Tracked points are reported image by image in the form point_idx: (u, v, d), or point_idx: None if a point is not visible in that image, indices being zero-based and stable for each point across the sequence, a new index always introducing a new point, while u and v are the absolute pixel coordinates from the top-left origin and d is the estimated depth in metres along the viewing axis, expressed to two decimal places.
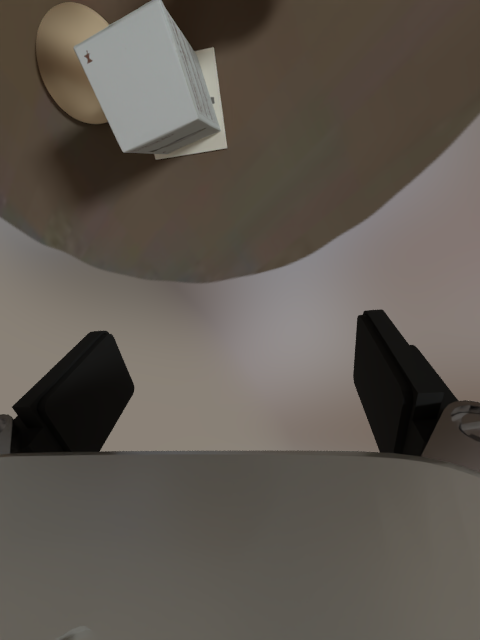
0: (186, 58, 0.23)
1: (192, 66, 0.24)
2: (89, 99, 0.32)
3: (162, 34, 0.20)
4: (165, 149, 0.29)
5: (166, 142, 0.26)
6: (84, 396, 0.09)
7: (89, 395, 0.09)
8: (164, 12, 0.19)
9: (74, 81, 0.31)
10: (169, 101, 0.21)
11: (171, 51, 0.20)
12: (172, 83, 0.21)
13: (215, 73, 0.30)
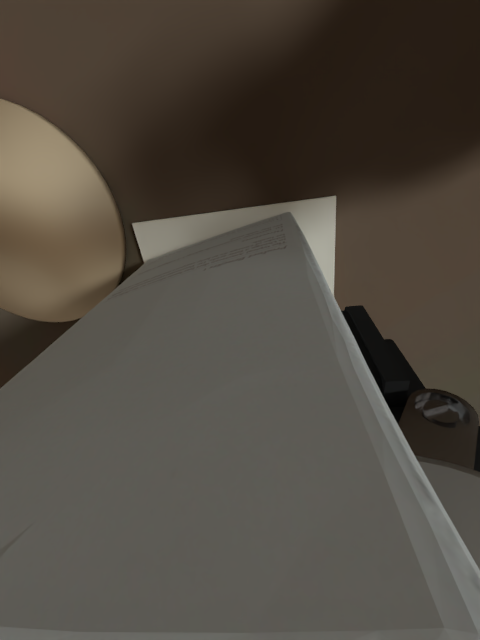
0: None
1: None
2: (37, 283, 0.14)
3: None
4: None
5: None
6: None
7: None
8: None
9: (0, 252, 0.14)
10: None
11: None
12: None
13: (331, 247, 0.13)
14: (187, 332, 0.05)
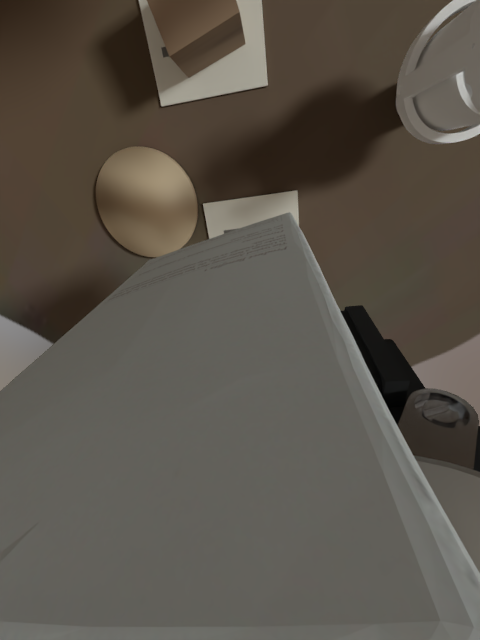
0: None
1: None
2: (151, 234, 0.29)
3: None
4: None
5: None
6: None
7: None
8: None
9: (136, 218, 0.28)
10: None
11: None
12: None
13: (296, 214, 0.27)
14: (189, 333, 0.05)
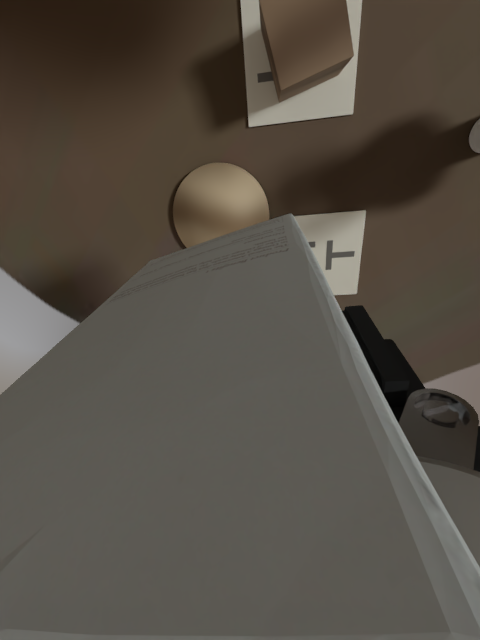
0: None
1: None
2: None
3: None
4: None
5: None
6: None
7: None
8: None
9: (208, 228, 0.30)
10: None
11: None
12: None
13: (362, 232, 0.29)
14: (191, 336, 0.05)
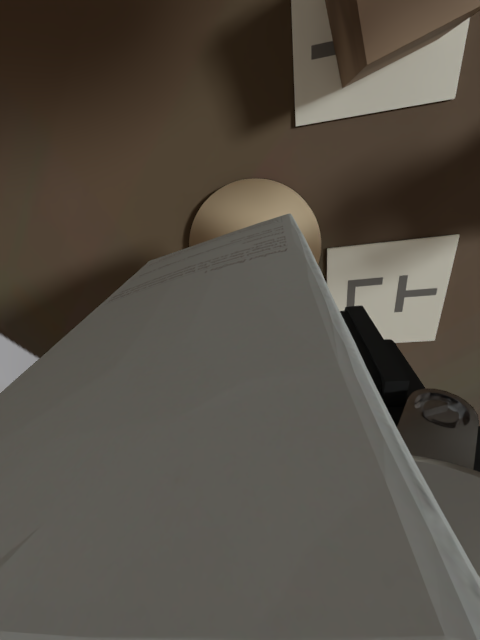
0: None
1: None
2: None
3: None
4: None
5: None
6: None
7: None
8: None
9: None
10: None
11: None
12: None
13: (450, 263, 0.21)
14: (189, 336, 0.05)
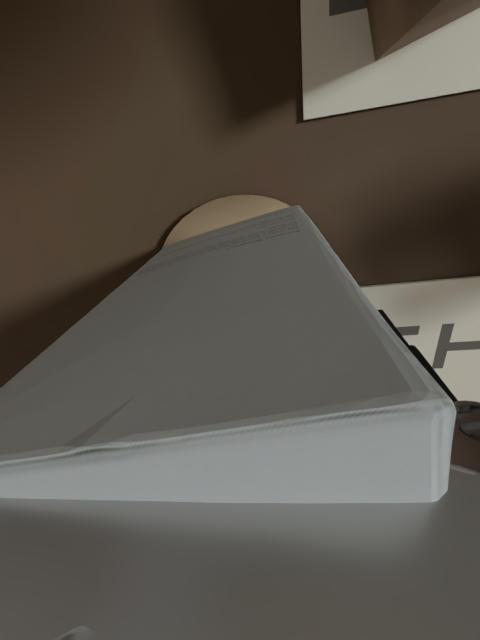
0: None
1: None
2: None
3: None
4: None
5: None
6: None
7: None
8: (446, 448, 0.03)
9: None
10: None
11: None
12: None
13: None
14: (225, 289, 0.06)
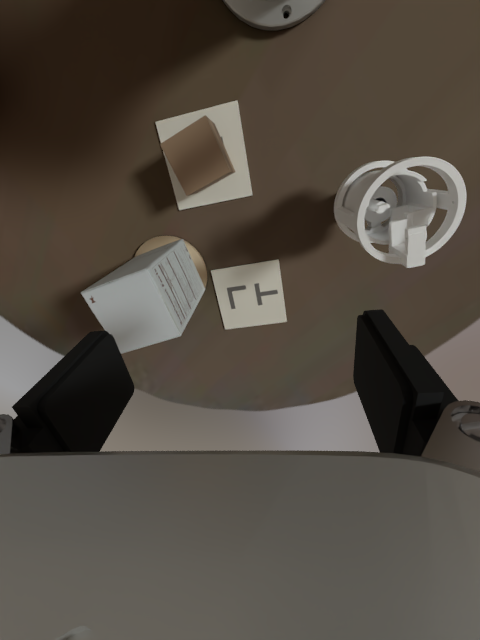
0: (171, 282, 0.28)
1: (177, 276, 0.30)
2: None
3: (150, 289, 0.25)
4: None
5: None
6: (84, 396, 0.09)
7: (89, 395, 0.09)
8: (151, 276, 0.25)
9: None
10: (157, 326, 0.27)
11: (157, 298, 0.25)
12: (159, 316, 0.26)
13: (279, 275, 0.37)
14: (137, 263, 0.28)
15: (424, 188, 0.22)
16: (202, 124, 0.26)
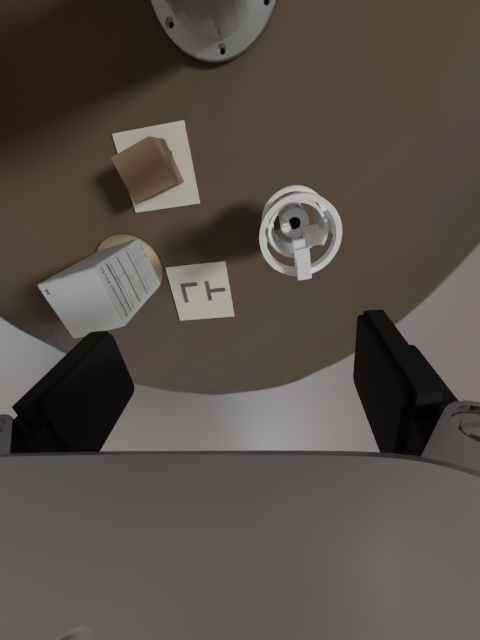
0: (119, 279, 0.32)
1: (127, 273, 0.34)
2: None
3: (96, 285, 0.29)
4: None
5: None
6: (84, 396, 0.09)
7: (89, 395, 0.09)
8: (97, 274, 0.29)
9: None
10: (104, 316, 0.31)
11: (103, 293, 0.30)
12: (105, 308, 0.31)
13: (226, 275, 0.41)
14: (90, 261, 0.32)
15: (322, 214, 0.27)
16: (146, 143, 0.30)
